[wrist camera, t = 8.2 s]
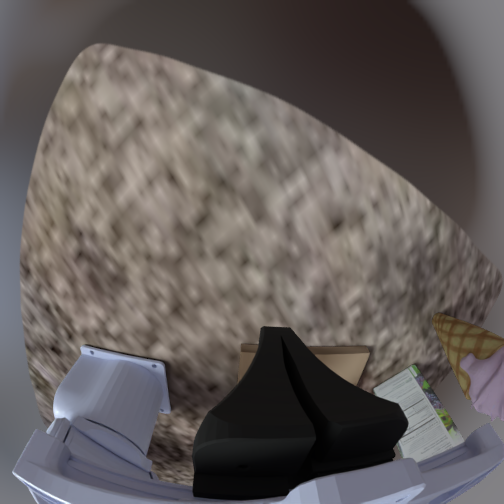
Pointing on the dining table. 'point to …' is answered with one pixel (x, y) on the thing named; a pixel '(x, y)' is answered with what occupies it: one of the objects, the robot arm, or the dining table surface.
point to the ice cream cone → (474, 362)
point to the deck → (336, 358)
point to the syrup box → (420, 416)
